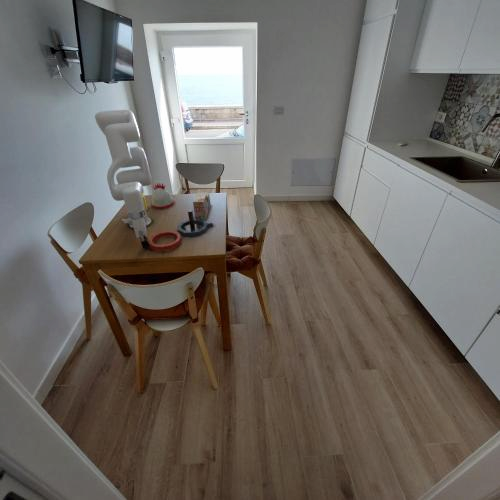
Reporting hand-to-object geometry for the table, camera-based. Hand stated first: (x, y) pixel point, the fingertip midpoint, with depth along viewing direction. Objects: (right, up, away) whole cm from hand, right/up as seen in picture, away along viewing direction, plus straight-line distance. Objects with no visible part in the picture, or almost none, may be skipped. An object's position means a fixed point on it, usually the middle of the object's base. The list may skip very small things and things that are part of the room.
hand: (145, 246), depth 139 cm
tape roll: (-19, +24, +39) cm, 49 cm away
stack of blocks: (+24, +21, +33) cm, 46 cm away
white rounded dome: (-6, +29, +45) cm, 54 cm away
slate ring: (+22, +10, +16) cm, 29 cm away
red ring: (+8, +2, +2) cm, 8 cm away
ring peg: (+21, +10, +16) cm, 28 cm away
